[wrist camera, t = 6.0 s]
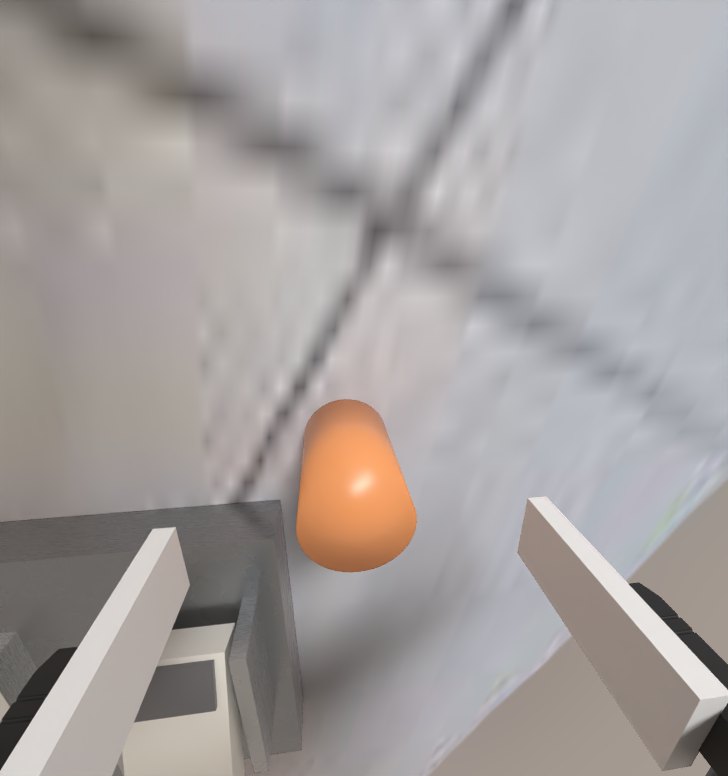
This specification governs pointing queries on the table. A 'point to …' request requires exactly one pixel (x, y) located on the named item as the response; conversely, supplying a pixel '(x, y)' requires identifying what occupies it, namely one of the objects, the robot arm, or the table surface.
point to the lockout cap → (352, 491)
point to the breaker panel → (200, 608)
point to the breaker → (189, 710)
